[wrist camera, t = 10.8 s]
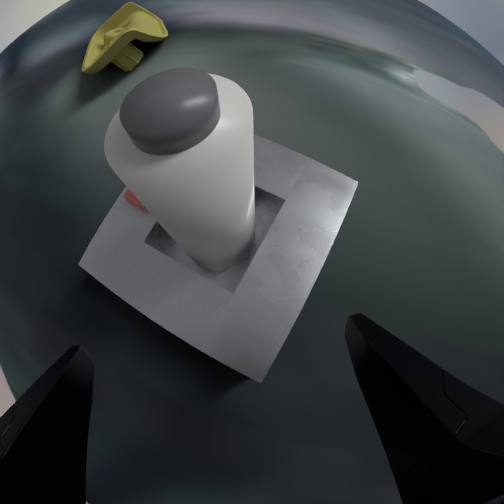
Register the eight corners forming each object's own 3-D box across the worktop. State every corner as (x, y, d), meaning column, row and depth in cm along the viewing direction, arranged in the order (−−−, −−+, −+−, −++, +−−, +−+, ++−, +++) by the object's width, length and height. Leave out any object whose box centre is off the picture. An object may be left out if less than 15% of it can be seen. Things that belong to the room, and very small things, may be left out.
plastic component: (91, 36, 27) (134, -4, 24) (119, 55, 34) (161, 18, 31) (76, 84, 21) (137, 20, 18) (120, 109, 28) (179, 56, 24)
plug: (268, 246, 18) (287, 111, 6) (203, 283, 18) (109, 201, 6) (232, 190, 20) (208, 39, 8) (172, 223, 19) (83, 99, 7)
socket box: (344, 203, 20) (362, 176, 16) (259, 372, 17) (261, 386, 13) (194, 137, 22) (184, 104, 18) (102, 274, 19) (71, 261, 15)
